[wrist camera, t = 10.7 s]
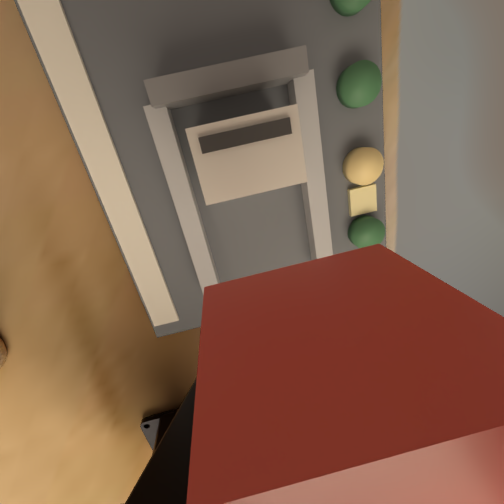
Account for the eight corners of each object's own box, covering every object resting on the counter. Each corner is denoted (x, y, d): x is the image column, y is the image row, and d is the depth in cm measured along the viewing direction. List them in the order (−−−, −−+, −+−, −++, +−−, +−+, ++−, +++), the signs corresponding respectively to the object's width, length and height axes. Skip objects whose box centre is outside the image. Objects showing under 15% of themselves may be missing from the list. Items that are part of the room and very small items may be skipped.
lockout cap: (384, 375, 8) (543, 591, 4) (244, 412, 8) (272, 673, 4) (379, 243, 7) (628, 390, 3) (204, 287, 7) (185, 514, 3)
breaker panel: (377, 272, 20) (405, 294, 17) (160, 326, 19) (150, 359, 16) (362, -115, 12) (408, -196, 9) (7, -45, 12) (-62, -109, 9)
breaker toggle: (285, 173, 15) (308, 182, 12) (208, 190, 15) (206, 206, 11) (276, 114, 14) (298, 103, 10) (193, 133, 14) (184, 128, 10)
